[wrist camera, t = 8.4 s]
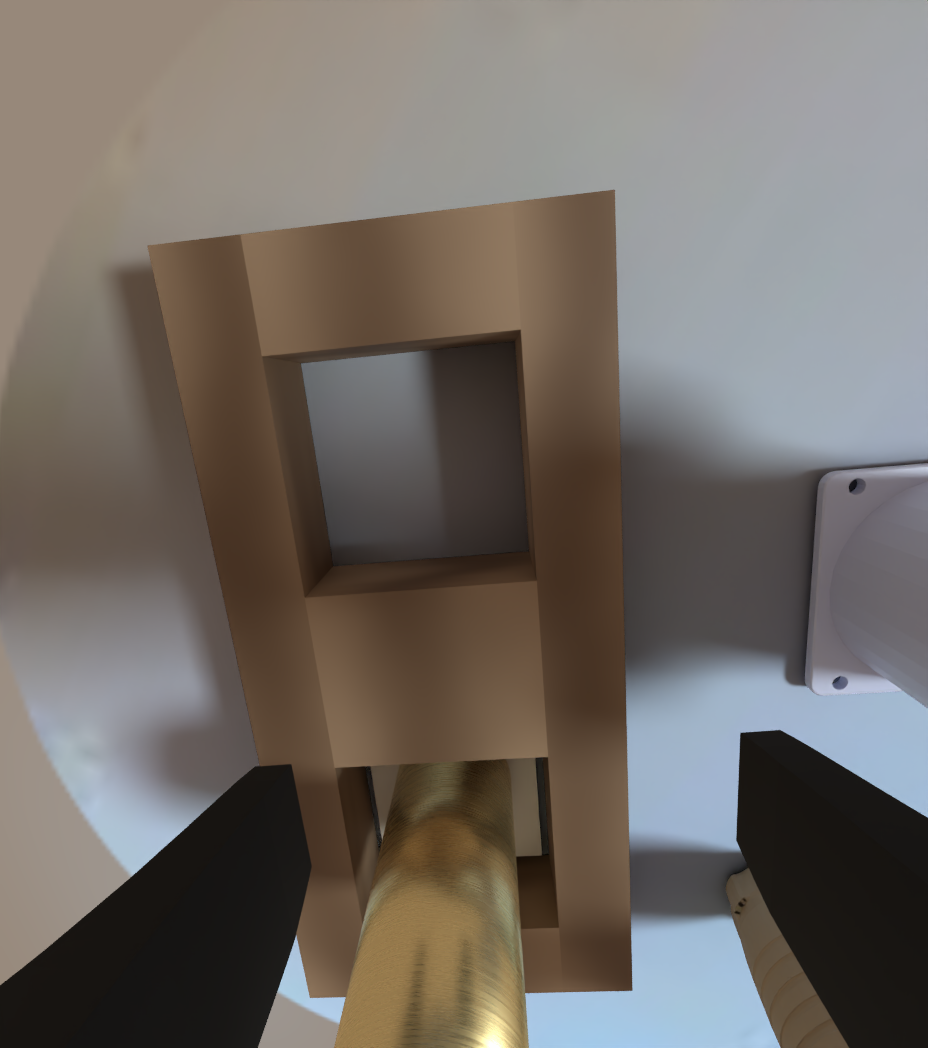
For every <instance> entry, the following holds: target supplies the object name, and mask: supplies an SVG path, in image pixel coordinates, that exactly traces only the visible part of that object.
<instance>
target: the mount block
mask: <svg viewBox="0 0 928 1048" xmlns="http://www.w3.org/2000/svg"><path fill="white" fill-rule="evenodd" d="M148 250H149V255H150V260H151V264H152V269H153V274H154V278H155V283H156V287H157V292H158V297H159V301H160V306H161V311H162V315H163V320H164V324H165V329H166V334H167V338H168V343H169V348H170V352H171V357H172V361H173V366H174V371H175V375H176V380H177V385H178V389H179V394H180V398H181V403H182V408H183V412H184V417H185V422H186V426H187V431H188V435H189V440H190V445H191V449H192V454H193V459H194V463H195V468H196V472H197V477H198V482H199V486H200V491H201V496H202V500H203V505H204V509H205V514H206V519H207V523H208V528H209V533H210V537H211V542H212V546H213V551H214V556H215V560H216V565H217V570H218V574H219V579H220V583H221V588H222V593H223V597H224V602H225V607H226V611H227V616H228V620H229V625H230V630H231V634H232V639H233V644H234V648H235V653H236V658H237V662H238V667H239V671H240V676H241V681H242V685H243V690H244V695H245V699H246V704H247V708H248V713H249V718H250V722H251V727H252V732H253V736H254V741H255V745H256V750H257V755H258V759H259V764H260V766H271V765H285V764H291V765H292V770H293V775H294V780H295V785H296V790H297V795H298V800H299V805H300V810H301V815H302V820H303V825H304V830H305V834H306V839H307V844H308V849H309V854H310V859H311V864H312V868H311V873H310V877H309V882H308V886H307V891H306V895H305V900H304V904H303V908H302V912H301V916H300V920H299V924H298V928H297V932H296V935H297V940H298V944H299V949H300V954H301V958H302V963H303V967H304V972H305V977H306V981H307V986H308V991H309V995H310V998H324V997H346V994H347V990H348V986H349V981H350V977H351V973H352V968H353V964H354V960H355V955H356V951H357V947H358V942H359V938H360V934H361V929H362V925H363V921H364V916H365V912H366V908H367V903H368V899H369V895H370V891H371V886H372V882H373V878H374V873H375V869H376V865H377V860H378V856H379V848H378V842H377V836H376V830H375V824H374V817H373V811H372V805H371V799H370V792H369V786H368V780H367V774H366V767H365V766H370V767H371V774H372V780H373V786H374V793H375V799H376V805H377V812H378V818H379V824H380V831H381V837H382V839H383V834H384V830H385V826H386V821H387V817H388V813H389V808H390V804H391V800H392V795H393V791H394V787H395V782H396V778H397V774H398V769H399V765H400V764H419V763H439V762H458V761H478V760H497V759H506V761H507V763H508V766H509V769H510V774H511V787H512V802H513V817H514V832H515V848H516V863H517V878H518V893H519V908H520V923H521V938H522V954H523V969H524V984H525V993H548V992H592V991H632V953H631V908H630V862H629V817H628V771H627V726H626V680H625V635H624V589H623V544H622V498H621V453H620V407H619V362H618V316H617V271H616V225H615V190H609V191H600V192H592V193H584V194H575V195H567V196H559V197H550V198H542V199H534V200H525V201H517V202H509V203H500V204H492V205H483V206H475V207H467V208H458V209H450V210H442V211H433V212H425V213H417V214H408V215H400V216H391V217H383V218H375V219H366V220H358V221H350V222H341V223H333V224H325V225H316V226H308V227H300V228H291V229H283V230H274V231H266V232H258V233H249V234H241V235H233V236H224V237H216V238H208V239H199V240H191V241H183V242H174V243H166V244H157V245H149V246H148ZM513 341H515V351H516V366H517V381H518V396H519V411H520V426H521V441H522V456H523V471H524V486H525V501H526V516H527V531H528V546H529V551H526V552H513V553H500V554H487V555H474V556H461V557H448V558H434V559H421V560H408V561H395V562H382V563H369V564H356V565H343V566H333V562H332V556H331V549H330V543H329V537H328V531H327V524H326V518H325V512H324V506H323V500H322V493H321V487H320V481H319V475H318V468H317V462H316V456H315V450H314V444H313V437H312V431H311V425H310V419H309V412H308V406H307V400H306V394H305V387H304V381H303V375H302V369H301V363H308V362H317V361H327V360H337V359H347V358H356V357H366V356H376V355H386V354H395V353H405V352H415V351H425V350H435V349H444V348H454V347H464V346H474V345H483V344H493V343H503V342H513ZM537 757H543V772H544V787H545V802H546V817H547V832H548V847H549V855H542V848H541V834H540V820H539V806H538V791H537V777H536V763H535V758H537Z"/></svg>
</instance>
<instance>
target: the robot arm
mask: <svg viewBox="0 0 928 1048" xmlns="http://www.w3.org/2000/svg"><path fill="white" fill-rule="evenodd" d="M854 479H856V480H857V486H856V488H855V489H854V490H853V491H852V492H849V488H848V487H849V484H850V482H852V481H853V480H854ZM839 676H841V677H840V679H839V681H838V682H836V683H833V680H834V679H835V678H836V677H839ZM832 683H833V684H832ZM805 684H806V686H807V687H808V688H809V689H810V690H811V691H812V692H813V693H815V694H817V695H822V696H827V695H845V694H862V693H880V692H898V691H904V692H905V693H907V694H908V695H910V696H911V697H912V698H914V699H915V700H917V701H918V702H920V703H921V704H922V705H924V706H925V707H927V708H928V463H924V464H912V465H900V466H887V467H875V468H863V469H851V470H839V471H833V472H829V473H827V474H826V475H824V476H823V477H822V479H821V480H820V481H819V485H818V493H817V507H816V522H815V537H814V551H813V566H812V580H811V595H810V609H809V624H808V639H807V653H806V668H805ZM736 841H737V843H738V845H739V847H740V849H741V852H742V854H743V856H744V858H745V861H746V863H747V865H748V867H749V870H750V872H751V874H752V876H753V879H754V881H755V883H756V885H757V887H758V889H759V891H760V893H761V895H762V898H763V900H764V902H765V904H766V906H767V908H768V910H769V912H770V914H771V916H772V918H773V919H774V921H775V923H776V925H777V926H778V928H779V930H780V932H781V933H782V935H783V937H784V939H785V940H786V942H787V944H788V945H789V947H790V949H791V950H792V952H793V954H794V956H795V957H796V959H797V961H798V962H799V964H800V966H801V968H802V969H803V971H804V973H805V974H806V976H807V978H808V980H809V981H810V983H811V985H812V986H813V988H814V990H815V991H816V993H817V995H818V996H819V998H820V1000H821V1001H822V1003H823V1005H824V1006H825V1008H826V1010H827V1012H828V1013H829V1015H830V1017H831V1018H832V1020H833V1022H834V1023H835V1025H836V1027H837V1028H838V1030H839V1032H840V1033H841V1035H842V1037H843V1038H844V1040H845V1042H846V1043H847V1045H848V1047H849V1048H928V818H927V817H926V816H924V815H922V814H920V813H919V812H917V811H915V810H914V809H912V808H910V807H909V806H907V805H905V804H904V803H902V802H900V801H899V800H897V799H895V798H894V797H892V796H890V795H889V794H887V793H885V792H884V791H882V790H880V789H879V788H877V787H875V786H874V785H872V784H871V783H869V782H867V781H866V780H864V779H862V778H861V777H859V776H857V775H856V774H854V773H852V772H851V771H849V770H847V769H846V768H844V767H843V766H841V765H839V764H838V763H836V762H834V761H833V760H831V759H829V758H828V757H826V756H824V755H823V754H821V753H819V752H818V751H816V750H814V749H813V748H811V747H809V746H808V745H806V744H804V743H802V742H801V741H799V740H797V739H795V738H794V737H792V736H790V735H788V734H786V733H785V732H783V731H781V730H775V731H761V732H746V733H741V734H740V760H739V786H738V812H737V839H736ZM311 868H312V864H311V859H310V854H309V849H308V844H307V839H306V834H305V830H304V825H303V820H302V815H301V810H300V805H299V800H298V795H297V790H296V785H295V780H294V775H293V770H292V765H291V764H285V765H271V766H257V767H254V768H253V769H252V770H250V771H249V772H248V773H247V774H245V775H244V776H243V777H242V778H241V779H240V780H238V781H237V782H236V783H235V784H234V785H233V786H232V787H231V788H229V789H228V790H227V791H226V792H225V793H224V794H223V795H222V796H221V797H220V798H218V799H217V800H216V801H215V802H214V803H213V804H212V805H211V806H210V807H209V808H207V809H206V810H205V811H204V812H203V813H202V814H201V815H200V816H199V817H198V818H197V819H195V820H194V821H193V822H192V823H191V824H190V825H189V826H188V827H187V828H186V829H184V830H183V831H182V832H181V833H180V834H179V835H178V836H177V837H176V838H174V839H173V840H172V841H171V842H170V843H169V844H168V845H167V846H166V847H164V848H163V849H162V850H161V851H160V852H159V853H158V854H157V855H156V856H154V857H153V858H152V859H151V860H150V861H149V862H148V863H147V864H145V865H144V866H143V867H142V868H141V869H140V870H139V871H138V872H137V873H135V874H134V875H133V876H132V877H131V878H130V879H129V880H127V881H126V882H125V883H124V884H123V885H122V886H120V887H119V888H118V889H117V890H116V891H114V892H113V893H112V894H111V895H110V896H108V898H106V899H105V900H104V901H103V902H102V903H100V904H99V905H98V906H97V907H95V908H94V909H93V910H92V911H91V912H90V913H88V914H87V915H86V916H85V917H84V918H82V919H81V920H80V921H79V922H78V923H77V924H75V925H74V926H73V927H72V928H71V929H69V930H68V931H67V932H66V933H65V934H63V935H62V936H61V937H60V938H59V939H58V940H56V941H55V942H54V943H53V944H52V945H50V946H49V947H48V948H47V949H46V950H45V951H43V952H42V953H41V954H39V955H38V956H37V957H36V958H34V959H33V960H32V961H31V962H29V963H28V964H27V965H26V966H24V967H23V968H22V969H21V970H19V971H18V972H17V973H15V974H14V975H13V976H12V977H10V978H9V979H8V980H7V981H5V982H4V983H3V984H2V985H0V1048H258V1045H259V1042H260V1039H261V1036H262V1034H263V1031H264V1028H265V1025H266V1022H267V1019H268V1016H269V1013H270V1011H271V1008H272V1005H273V1002H274V999H275V996H276V993H277V991H278V988H279V985H280V982H281V979H282V976H283V973H284V970H285V967H286V964H287V961H288V958H289V955H290V952H291V949H292V946H293V943H294V940H295V937H296V932H297V928H298V924H299V920H300V916H301V912H302V908H303V904H304V900H305V895H306V891H307V886H308V882H309V877H310V873H311Z"/></svg>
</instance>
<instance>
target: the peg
mask: <svg viewBox="0 0 928 1048" xmlns="http://www.w3.org/2000/svg"><path fill="white" fill-rule="evenodd" d="M334 1048H529V1044H528V1029H527V1014H526V999H525V984H524V969H523V954H522V938H521V923H520V908H519V893H518V878H517V863H516V848H515V832H514V817H513V802H512V787H511V774H510V769H509V766H508V763H507V761H506V759H497V760H478V761H458V762H439V763H419V764H400V765H399V769H398V774H397V778H396V782H395V787H394V791H393V795H392V800H391V804H390V808H389V813H388V817H387V821H386V826H385V830H384V834H383V839H382V843H381V847H380V852H379V856H378V860H377V865H376V869H375V873H374V878H373V882H372V886H371V891H370V895H369V899H368V903H367V908H366V912H365V916H364V921H363V925H362V929H361V934H360V938H359V942H358V947H357V951H356V955H355V960H354V964H353V968H352V973H351V977H350V981H349V986H348V990H347V994H346V999H345V1003H344V1007H343V1012H342V1016H341V1020H340V1025H339V1029H338V1033H337V1038H336V1042H335V1046H334Z"/></svg>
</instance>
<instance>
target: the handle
mask: <svg viewBox="0 0 928 1048" xmlns="http://www.w3.org/2000/svg"><path fill="white" fill-rule="evenodd" d="M726 892H727V896H728V899H729V902H730V905H731V914H732V917H733V921H734V924H735V927H736V929H737V932H738V935H739V937H740V939H741V943H742V947H743V950H744V954H745V957H746V961H747V964H748V966H749V969H750V972H751V975H752V978H753V981H754V983H755V986H756V988H757V991H758V994H759V996H760V999H761V1001H762V1004H763V1006H764V1008H765V1011H766V1014H767V1016H768V1019H769V1021H770V1024H771V1026H772V1029H773V1031H774V1033H775V1036H776V1038H777V1040H778V1042H779V1045H780V1047H781V1048H849V1047H848V1045H847V1043H846V1042H845V1040H844V1038H843V1037H842V1035H841V1033H840V1032H839V1030H838V1028H837V1027H836V1025H835V1023H834V1022H833V1020H832V1018H831V1017H830V1015H829V1013H828V1012H827V1010H826V1008H825V1006H824V1005H823V1003H822V1001H821V1000H820V998H819V996H818V995H817V993H816V991H815V990H814V988H813V986H812V985H811V983H810V981H809V980H808V978H807V976H806V974H805V973H804V971H803V969H802V968H801V966H800V964H799V962H798V961H797V959H796V957H795V956H794V954H793V952H792V950H791V949H790V947H789V945H788V944H787V942H786V940H785V939H784V937H783V935H782V933H781V932H780V930H779V928H778V926H777V925H776V923H775V921H774V919H773V918H772V916H771V914H770V912H769V910H768V908H767V906H766V904H765V902H764V900H763V898H762V895H761V893H760V891H759V889H758V887H757V885H756V883H755V881H754V879H753V876H752V874H751V872H750V870H749V867H748V868H747V869H746V870H744V871H742V872H740V873H738V874H733V875H731V876H730V878H729V879H728V881H727V884H726Z"/></svg>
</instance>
